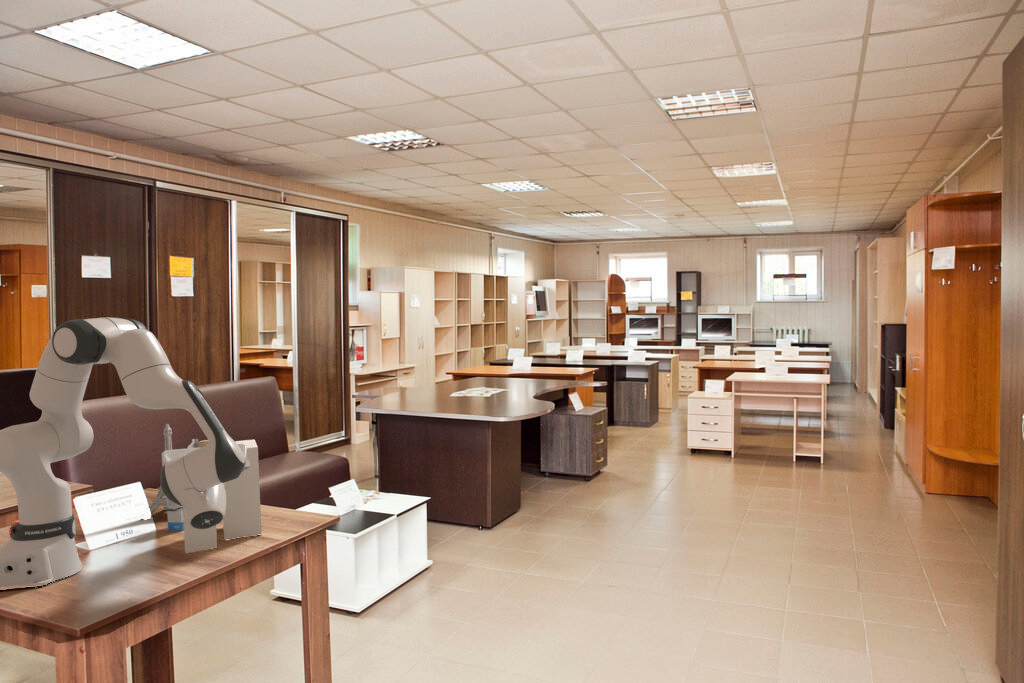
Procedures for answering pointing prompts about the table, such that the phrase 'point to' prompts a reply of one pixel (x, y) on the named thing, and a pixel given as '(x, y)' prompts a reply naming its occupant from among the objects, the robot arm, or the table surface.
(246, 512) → the tall stand
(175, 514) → the ink box
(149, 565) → the table surface
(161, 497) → the eiffel tower
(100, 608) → the table surface
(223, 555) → the table surface
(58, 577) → the robot arm
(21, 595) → the table surface
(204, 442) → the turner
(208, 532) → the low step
